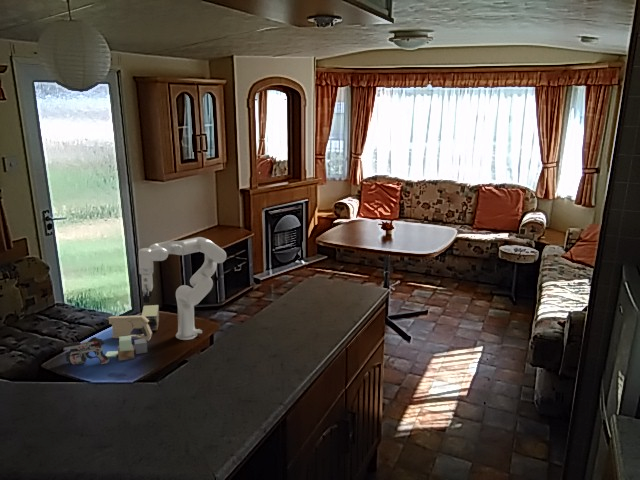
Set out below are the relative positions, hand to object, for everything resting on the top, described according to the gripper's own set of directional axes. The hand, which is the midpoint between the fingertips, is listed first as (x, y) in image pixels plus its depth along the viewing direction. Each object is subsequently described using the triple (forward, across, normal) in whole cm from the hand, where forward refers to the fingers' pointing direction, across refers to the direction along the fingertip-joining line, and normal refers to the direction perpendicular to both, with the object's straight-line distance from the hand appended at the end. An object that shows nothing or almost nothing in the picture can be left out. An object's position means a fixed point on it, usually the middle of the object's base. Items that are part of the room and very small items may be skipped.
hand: (147, 299), depth 295 cm
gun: (+29, +12, +12) cm, 33 cm away
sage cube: (+24, -12, +11) cm, 29 cm away
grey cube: (+28, -6, +4) cm, 29 cm away
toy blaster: (+29, -18, +30) cm, 45 cm away
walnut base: (+29, -12, +11) cm, 33 cm away
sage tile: (+28, -9, +19) cm, 35 cm away
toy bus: (+29, +31, +3) cm, 42 cm away
